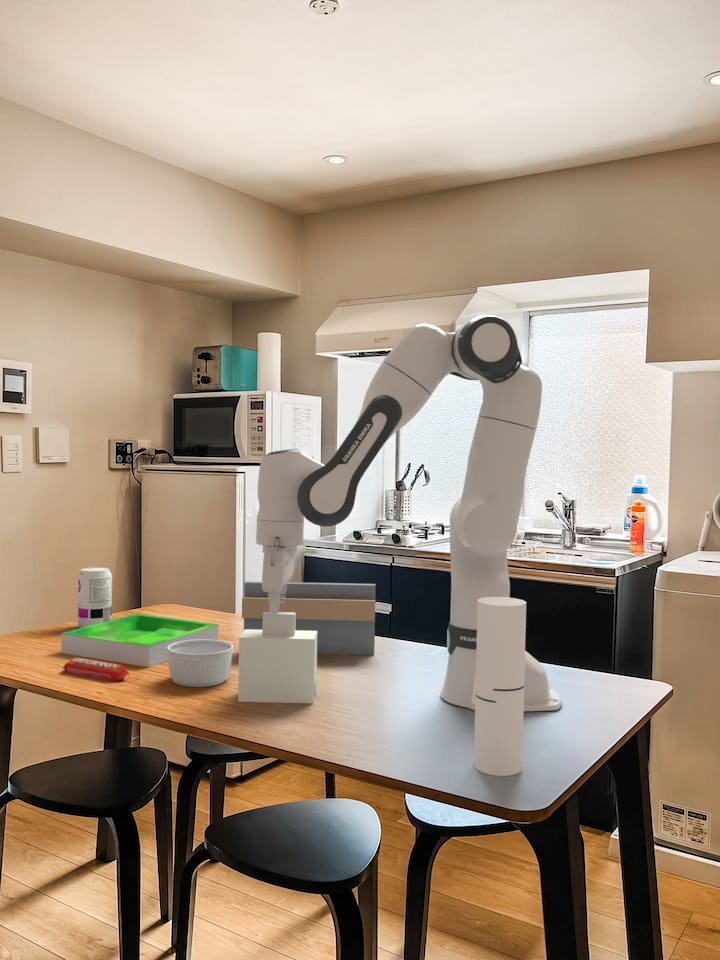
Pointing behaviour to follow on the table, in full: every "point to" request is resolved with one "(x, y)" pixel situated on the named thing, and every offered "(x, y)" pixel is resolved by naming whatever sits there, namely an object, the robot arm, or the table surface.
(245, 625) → the wall board
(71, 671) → the candy bar
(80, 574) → the supplement can
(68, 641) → the tray
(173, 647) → the ramekin
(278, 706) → the table surface
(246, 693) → the off-white handled block
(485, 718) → the cylindrical container
